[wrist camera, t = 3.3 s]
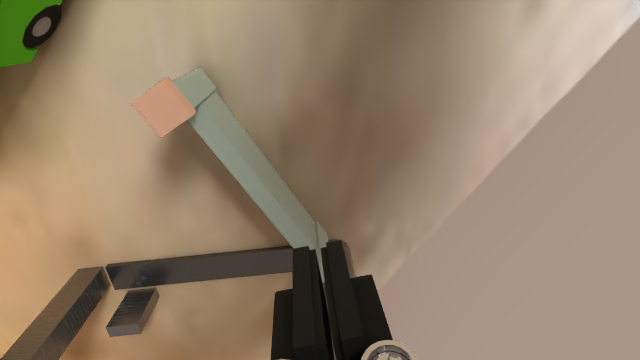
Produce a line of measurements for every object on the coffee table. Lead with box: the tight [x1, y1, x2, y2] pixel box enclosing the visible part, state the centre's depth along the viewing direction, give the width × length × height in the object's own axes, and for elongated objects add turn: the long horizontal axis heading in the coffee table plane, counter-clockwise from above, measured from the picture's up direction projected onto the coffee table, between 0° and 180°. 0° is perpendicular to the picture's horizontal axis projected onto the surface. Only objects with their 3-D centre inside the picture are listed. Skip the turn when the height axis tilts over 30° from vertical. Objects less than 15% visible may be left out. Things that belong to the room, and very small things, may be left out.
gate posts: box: [0, 240, 356, 360], centre depth 25 cm, size 23×4×11 cm, turn 94°
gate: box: [130, 67, 328, 283], centre depth 22 cm, size 16×2×7 cm, turn 32°
